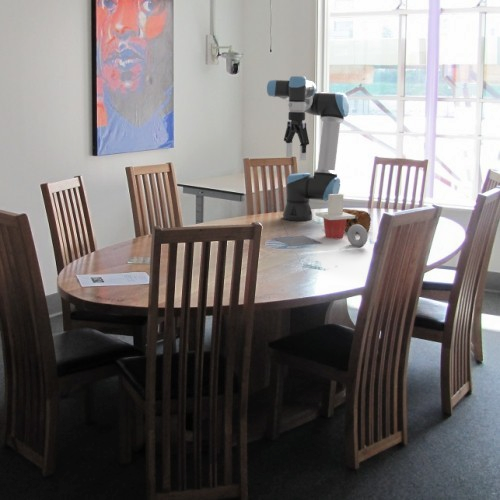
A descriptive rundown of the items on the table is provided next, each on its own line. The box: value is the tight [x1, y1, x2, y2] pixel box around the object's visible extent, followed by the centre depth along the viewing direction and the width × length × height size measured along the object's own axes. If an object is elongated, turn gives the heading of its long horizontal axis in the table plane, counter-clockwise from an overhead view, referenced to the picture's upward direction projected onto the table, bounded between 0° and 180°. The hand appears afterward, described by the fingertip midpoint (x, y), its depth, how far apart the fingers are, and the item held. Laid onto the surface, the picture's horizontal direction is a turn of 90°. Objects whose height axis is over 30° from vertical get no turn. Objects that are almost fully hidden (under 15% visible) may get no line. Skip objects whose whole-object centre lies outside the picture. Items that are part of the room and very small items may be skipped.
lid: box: [315, 193, 355, 220], centre depth 363 cm, size 13×13×10 cm
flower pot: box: [323, 218, 347, 239], centre depth 365 cm, size 11×11×10 cm
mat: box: [272, 235, 323, 247], centre depth 356 cm, size 18×16×1 cm
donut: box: [346, 224, 369, 248], centre depth 346 cm, size 10×4×10 cm, turn 47°
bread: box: [343, 208, 372, 234], centre depth 385 cm, size 19×11×10 cm, turn 39°
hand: (295, 158), depth 367 cm, fingers open, 13 cm apart
